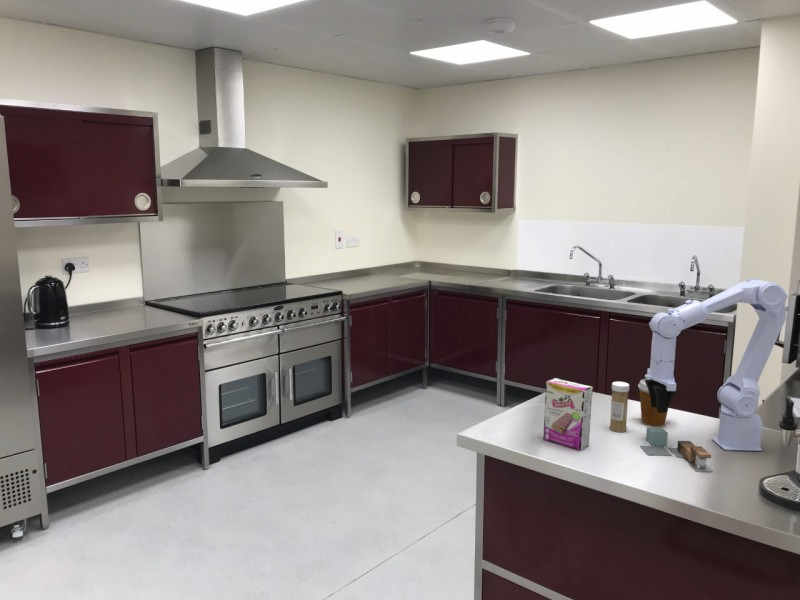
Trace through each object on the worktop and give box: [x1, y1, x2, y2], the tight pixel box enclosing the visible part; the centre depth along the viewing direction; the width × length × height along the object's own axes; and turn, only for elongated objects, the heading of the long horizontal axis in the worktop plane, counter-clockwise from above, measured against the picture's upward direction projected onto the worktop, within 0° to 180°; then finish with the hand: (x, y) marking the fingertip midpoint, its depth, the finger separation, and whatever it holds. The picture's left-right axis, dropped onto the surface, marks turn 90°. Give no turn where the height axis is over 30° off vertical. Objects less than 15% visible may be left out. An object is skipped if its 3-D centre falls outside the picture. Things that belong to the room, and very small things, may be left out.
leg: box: [676, 440, 712, 463], centre depth 153 cm, size 12×3×4 cm, turn 178°
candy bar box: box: [542, 377, 594, 452], centre depth 163 cm, size 11×5×16 cm, turn 47°
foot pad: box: [668, 447, 686, 459], centre depth 158 cm, size 6×6×1 cm
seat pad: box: [639, 445, 673, 457], centre depth 159 cm, size 6×6×1 cm
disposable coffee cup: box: [637, 378, 669, 427], centre depth 179 cm, size 10×10×12 cm
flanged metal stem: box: [688, 455, 714, 473], centre depth 149 cm, size 4×4×3 cm
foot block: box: [645, 426, 669, 448], centre depth 164 cm, size 4×4×4 cm
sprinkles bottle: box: [609, 381, 630, 433], centre depth 173 cm, size 5×5×13 cm
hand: (658, 409), depth 163 cm, fingers open, 4 cm apart
